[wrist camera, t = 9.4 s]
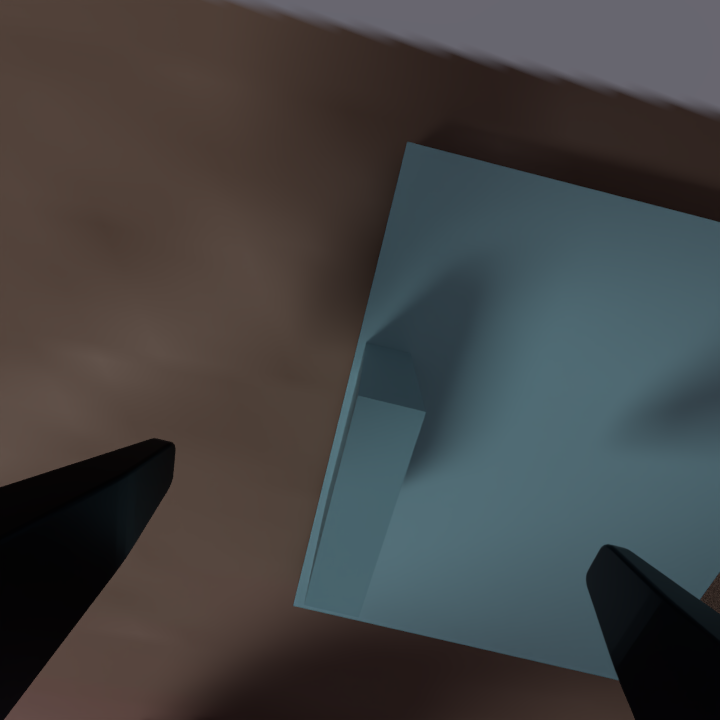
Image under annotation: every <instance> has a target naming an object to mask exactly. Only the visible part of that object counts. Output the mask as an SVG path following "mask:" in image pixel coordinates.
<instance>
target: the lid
mask: <svg viewBox="0 0 720 720" xmlns="http://www.w3.org/2000/svg"><path fill="white" fill-rule="evenodd" d="M605 544H611V545H615V546H620V547H624V548H626V549H629V550H630V551H632V552H633V553H635V554H636V555H637V556H639V557H640V558H642V559H643V560H644V561H646V562H647V563H649V564H650V565H651V566H653V567H654V568H656V569H657V570H658V571H660V572H661V573H663V574H664V575H665V576H667V577H668V578H670V579H671V580H672V581H674V582H675V583H677V584H678V585H680V586H681V587H682V588H684V589H685V590H687V591H688V592H689V593H691V594H692V595H694V596H695V597H696V598H698V599H699V600H700V599H701V597H702V596H703V594H704V593H705V592H706V590H707V589H708V587H709V586H710V585H711V583H712V582H713V581H714V579H715V578H716V576H717V575H718V574H719V572H720V222H717V221H713V220H709V219H706V218H702V217H698V216H694V215H690V214H686V213H682V212H678V211H675V210H671V209H667V208H663V207H659V206H655V205H651V204H647V203H644V202H640V201H636V200H632V199H628V198H624V197H620V196H616V195H613V194H609V193H605V192H601V191H597V190H593V189H589V188H585V187H581V186H578V185H574V184H570V183H566V182H562V181H558V180H554V179H550V178H547V177H543V176H539V175H535V174H531V173H527V172H523V171H519V170H516V169H512V168H508V167H504V166H500V165H496V164H492V163H488V162H485V161H481V160H477V159H473V158H469V157H465V156H461V155H457V154H453V153H450V152H446V151H442V150H438V149H434V148H430V147H426V146H422V145H419V144H415V143H411V142H407V145H406V149H405V153H404V157H403V161H402V165H401V169H400V173H399V177H398V181H397V185H396V189H395V193H394V198H393V202H392V206H391V210H390V214H389V218H388V222H387V226H386V230H385V234H384V238H383V242H382V246H381V250H380V255H379V259H378V263H377V267H376V271H375V275H374V279H373V283H372V287H371V291H370V295H369V299H368V303H367V307H366V312H365V316H364V320H363V324H362V328H361V332H360V336H359V340H358V344H357V348H356V352H355V356H354V360H353V364H352V369H351V373H350V377H349V381H348V385H347V389H346V393H345V397H344V401H343V405H342V409H341V413H340V417H339V421H338V426H337V430H336V434H335V438H334V442H333V446H332V450H331V454H330V458H329V462H328V466H327V470H326V474H325V478H324V483H323V487H322V491H321V495H320V499H319V503H318V507H317V511H316V515H315V519H314V523H313V527H312V531H311V535H310V540H309V544H308V548H307V552H306V556H305V560H304V564H303V568H302V572H301V576H300V580H299V584H298V588H297V593H296V597H295V601H294V605H293V606H296V607H301V608H305V609H309V610H314V611H318V612H323V613H327V614H331V615H336V616H340V617H344V618H349V619H353V620H358V621H362V622H366V623H371V624H375V625H379V626H384V627H388V628H392V629H397V630H401V631H406V632H410V633H414V634H419V635H423V636H427V637H432V638H436V639H441V640H445V641H449V642H454V643H458V644H462V645H467V646H471V647H475V648H480V649H484V650H489V651H493V652H497V653H502V654H506V655H510V656H515V657H519V658H524V659H528V660H532V661H537V662H541V663H545V664H550V665H554V666H558V667H563V668H567V669H572V670H576V671H580V672H585V673H589V674H593V675H598V676H602V677H607V678H611V679H615V680H619V679H618V677H617V674H616V672H615V669H614V666H613V663H612V661H611V658H610V655H609V652H608V649H607V646H606V643H605V640H604V637H603V634H602V631H601V628H600V625H599V622H598V619H597V616H596V613H595V610H594V607H593V604H592V601H591V598H590V595H589V592H588V589H587V585H586V574H587V571H588V569H589V567H590V565H591V564H592V562H593V560H594V558H595V557H596V555H597V553H598V551H599V550H600V548H601V547H602V546H603V545H605Z"/></svg>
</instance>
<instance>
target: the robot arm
mask: <svg viewBox="0 0 720 720" xmlns="http://www.w3.org/2000/svg"><path fill="white" fill-rule="evenodd" d="M174 461H175V445H174V444H173V442H170V441H165V440H161V439H156V438H153V439H149V440H146V441H143V442H140V443H137V444H133V445H130V446H127V447H124V448H121V449H118V450H115V451H112V452H109V453H105V454H102V455H99V456H96V457H93V458H90V459H87V460H84V461H81V462H77V463H74V464H71V465H68V466H65V467H62V468H59V469H56V470H53V471H49V472H46V473H43V474H40V475H37V476H34V477H31V478H28V479H25V480H21V481H18V482H15V483H12V484H9V485H6V486H3V487H0V720H4V719H5V717H6V716H7V715H8V714H9V712H10V711H11V710H12V708H13V707H14V706H15V704H16V703H17V702H18V700H19V699H20V698H21V696H22V695H23V694H24V692H25V691H26V690H27V688H28V687H29V686H30V685H31V683H32V682H33V681H34V679H35V678H36V677H37V675H38V674H39V673H40V671H41V670H42V669H43V667H44V666H45V665H46V663H47V662H48V661H49V659H50V658H51V657H52V656H53V654H54V653H55V652H56V650H57V649H58V648H59V646H60V645H61V644H62V642H63V641H64V640H65V638H66V637H67V636H68V634H69V633H70V632H71V630H72V629H73V628H74V627H75V625H76V624H77V623H78V621H79V620H80V619H81V617H82V616H83V615H84V613H85V612H86V611H87V609H88V608H89V607H90V605H91V604H92V603H93V601H94V600H95V599H96V598H97V596H98V595H99V594H100V592H101V591H102V590H103V588H104V587H105V586H106V584H107V583H108V582H109V580H110V579H111V578H112V576H113V575H114V574H115V572H116V571H117V570H118V568H119V567H120V566H121V564H122V563H123V561H124V560H125V559H126V557H127V555H128V554H129V552H130V551H131V549H132V548H133V546H134V545H135V543H136V541H137V540H138V538H139V536H140V535H141V533H142V532H143V530H144V528H145V527H146V525H147V523H148V522H149V520H150V519H151V517H152V515H153V514H154V512H155V510H156V509H157V507H158V506H159V504H160V502H161V501H162V499H163V497H164V496H165V494H166V493H167V491H168V489H169V487H170V485H171V483H172V479H173V472H174ZM586 585H587V589H588V592H589V595H590V598H591V601H592V604H593V607H594V610H595V613H596V616H597V619H598V622H599V625H600V628H601V631H602V634H603V637H604V640H605V643H606V646H607V649H608V652H609V655H610V658H611V661H612V663H613V666H614V669H615V672H616V674H617V677H618V679H619V682H620V684H621V687H622V689H623V692H624V694H625V696H626V699H627V701H628V703H629V706H630V708H631V711H632V713H633V715H634V718H635V720H720V614H719V613H717V612H716V611H715V610H713V609H712V608H710V607H709V606H708V605H706V604H705V603H703V602H702V601H701V600H699V599H698V598H696V597H695V596H694V595H692V594H691V593H689V592H688V591H687V590H685V589H684V588H682V587H681V586H680V585H678V584H677V583H675V582H674V581H672V580H671V579H670V578H668V577H667V576H665V575H664V574H663V573H661V572H660V571H658V570H657V569H656V568H654V567H653V566H651V565H650V564H649V563H647V562H646V561H644V560H643V559H642V558H640V557H639V556H637V555H636V554H635V553H633V552H632V551H630V550H629V549H626V548H624V547H620V546H615V545H611V544H605V545H603V546H602V547H601V548H600V550H599V551H598V553H597V555H596V557H595V558H594V560H593V562H592V564H591V565H590V567H589V569H588V571H587V574H586Z"/></svg>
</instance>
